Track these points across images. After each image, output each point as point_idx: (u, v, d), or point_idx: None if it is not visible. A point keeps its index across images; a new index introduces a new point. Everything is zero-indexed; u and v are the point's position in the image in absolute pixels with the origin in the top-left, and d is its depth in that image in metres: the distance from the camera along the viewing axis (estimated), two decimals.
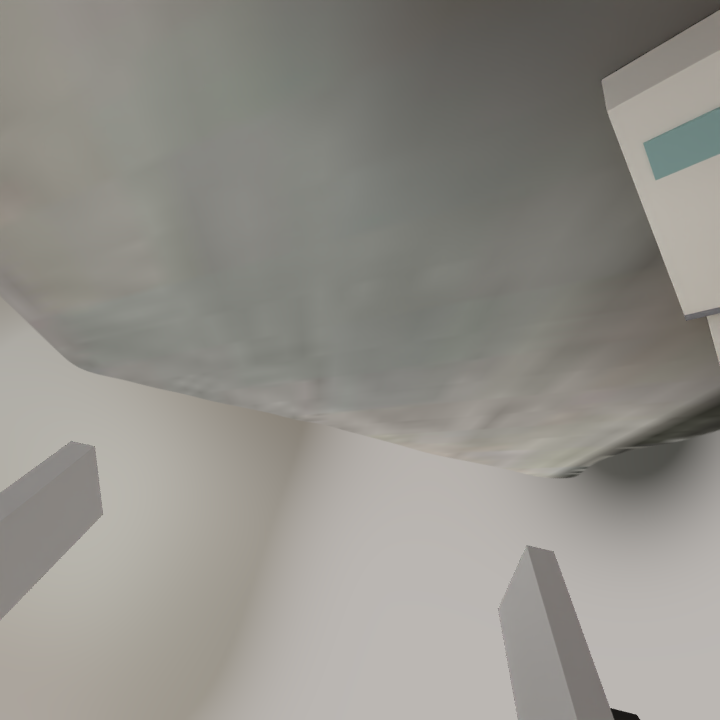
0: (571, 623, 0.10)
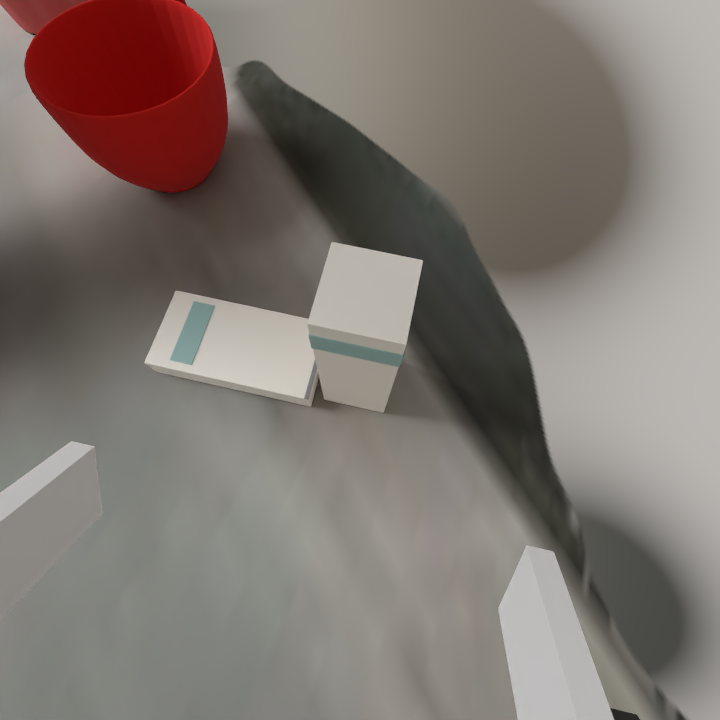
0: (571, 623, 0.10)
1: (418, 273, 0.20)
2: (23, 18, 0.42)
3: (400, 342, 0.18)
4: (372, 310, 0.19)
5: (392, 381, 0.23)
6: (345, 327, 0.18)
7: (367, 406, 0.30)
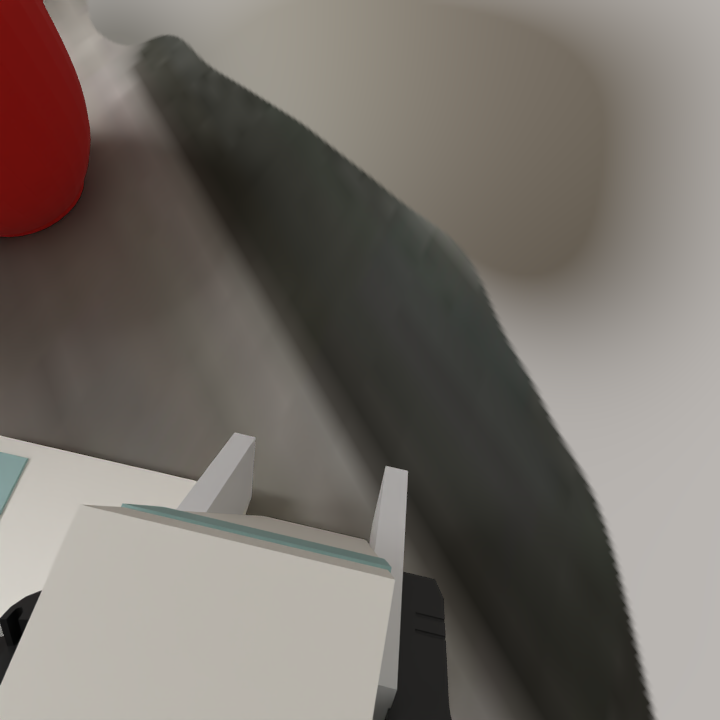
0: (398, 516, 0.12)
1: (377, 644, 0.05)
2: None
3: None
4: None
5: None
6: None
7: None
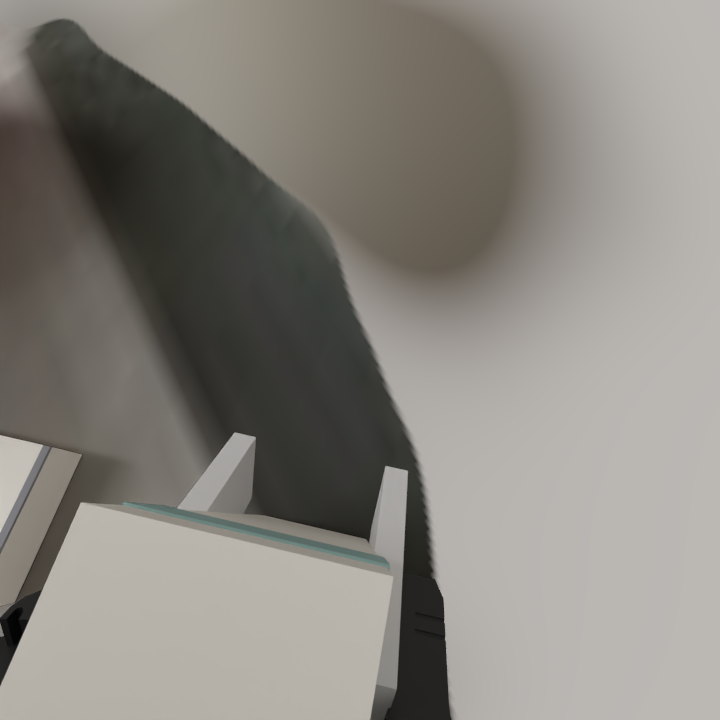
0: (398, 516, 0.12)
1: (376, 641, 0.05)
2: None
3: None
4: None
5: None
6: None
7: None
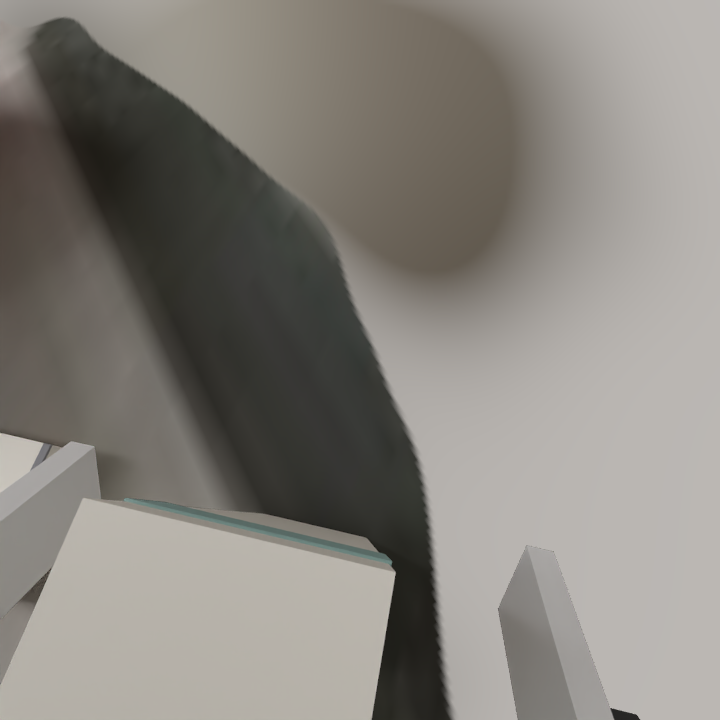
0: (571, 623, 0.10)
1: (378, 636, 0.05)
2: None
3: None
4: None
5: None
6: None
7: None
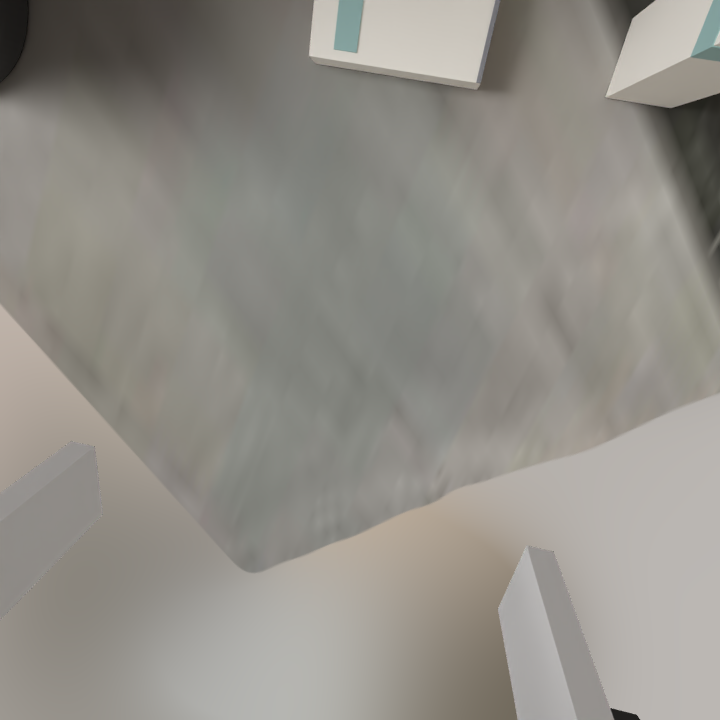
0: (571, 623, 0.10)
1: None
2: None
3: None
4: None
5: None
6: None
7: (658, 103, 0.28)
